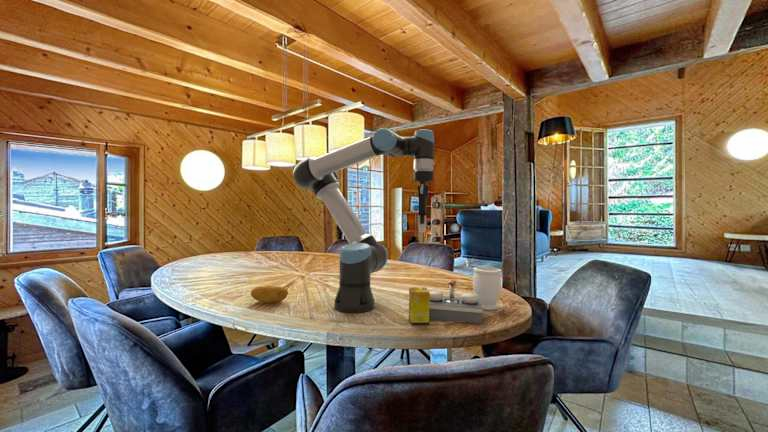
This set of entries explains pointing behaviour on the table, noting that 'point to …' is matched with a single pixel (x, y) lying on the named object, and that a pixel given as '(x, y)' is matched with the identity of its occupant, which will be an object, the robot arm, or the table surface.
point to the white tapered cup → (487, 286)
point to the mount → (456, 311)
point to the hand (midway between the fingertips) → (422, 232)
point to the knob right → (469, 298)
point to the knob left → (436, 296)
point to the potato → (269, 294)
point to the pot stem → (452, 292)
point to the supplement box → (419, 305)
